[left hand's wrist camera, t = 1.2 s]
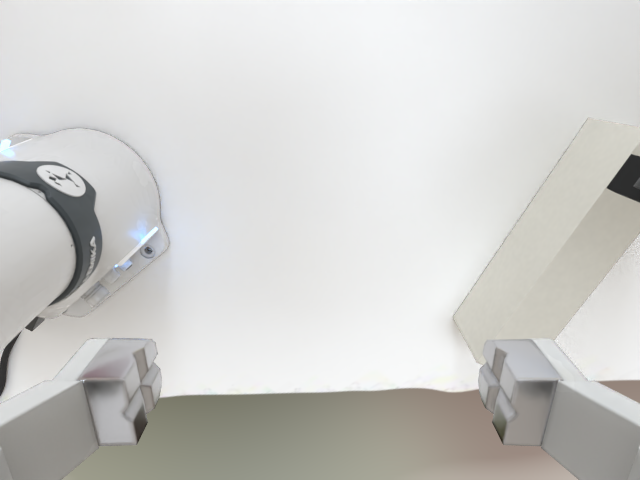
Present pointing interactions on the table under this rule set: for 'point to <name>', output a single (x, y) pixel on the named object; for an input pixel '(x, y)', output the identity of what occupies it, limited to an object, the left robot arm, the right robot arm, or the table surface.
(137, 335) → the table surface
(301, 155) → the table surface
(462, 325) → the bar
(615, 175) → the right robot arm
